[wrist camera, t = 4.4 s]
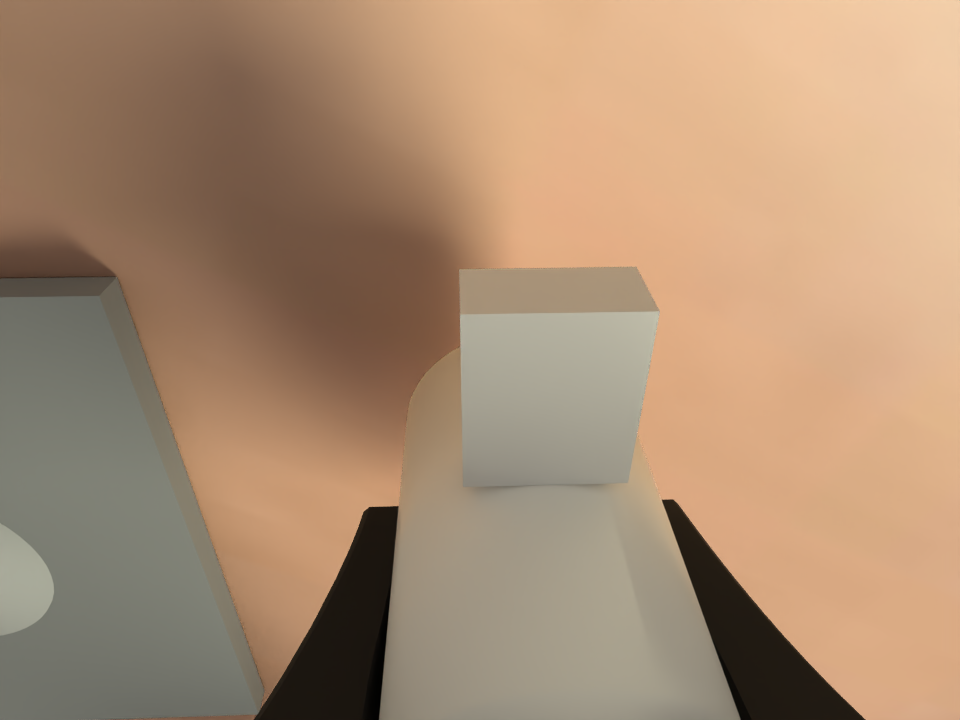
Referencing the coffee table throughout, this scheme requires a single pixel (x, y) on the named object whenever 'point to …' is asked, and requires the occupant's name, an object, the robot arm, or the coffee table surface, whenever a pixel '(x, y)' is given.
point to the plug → (542, 519)
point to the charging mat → (102, 526)
